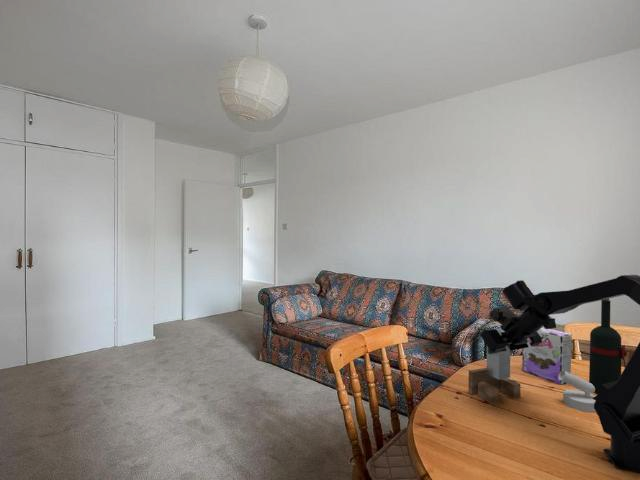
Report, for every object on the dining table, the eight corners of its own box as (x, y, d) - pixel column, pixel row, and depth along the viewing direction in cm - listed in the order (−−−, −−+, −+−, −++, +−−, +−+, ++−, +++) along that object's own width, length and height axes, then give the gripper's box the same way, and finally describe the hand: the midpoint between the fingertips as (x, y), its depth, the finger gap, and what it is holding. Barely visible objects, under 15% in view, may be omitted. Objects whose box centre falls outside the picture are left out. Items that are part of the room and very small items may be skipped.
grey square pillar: (510, 377, 105) (510, 333, 105) (498, 379, 104) (499, 335, 104) (497, 372, 110) (497, 330, 110) (486, 374, 108) (486, 331, 108)
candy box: (521, 370, 128) (521, 325, 128) (531, 368, 131) (532, 323, 131) (560, 385, 116) (561, 335, 116) (571, 382, 118) (572, 333, 118)
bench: (523, 396, 107) (523, 373, 107) (487, 403, 102) (488, 379, 102) (502, 386, 114) (502, 365, 114) (468, 393, 109) (468, 370, 109)
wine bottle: (629, 402, 104) (631, 300, 103) (586, 391, 111) (588, 296, 110) (632, 394, 109) (633, 297, 109) (591, 384, 116) (592, 293, 116)
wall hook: (552, 365, 107) (590, 367, 105) (552, 396, 108) (589, 399, 106) (566, 376, 99) (607, 379, 97) (566, 410, 99) (606, 413, 97)
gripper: (532, 298, 106) (501, 326, 117) (485, 301, 100) (457, 331, 110) (558, 330, 99) (523, 357, 109) (509, 336, 92) (476, 365, 103)
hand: (494, 351), depth 108 cm, fingers closed on grey square pillar, 4 cm apart
